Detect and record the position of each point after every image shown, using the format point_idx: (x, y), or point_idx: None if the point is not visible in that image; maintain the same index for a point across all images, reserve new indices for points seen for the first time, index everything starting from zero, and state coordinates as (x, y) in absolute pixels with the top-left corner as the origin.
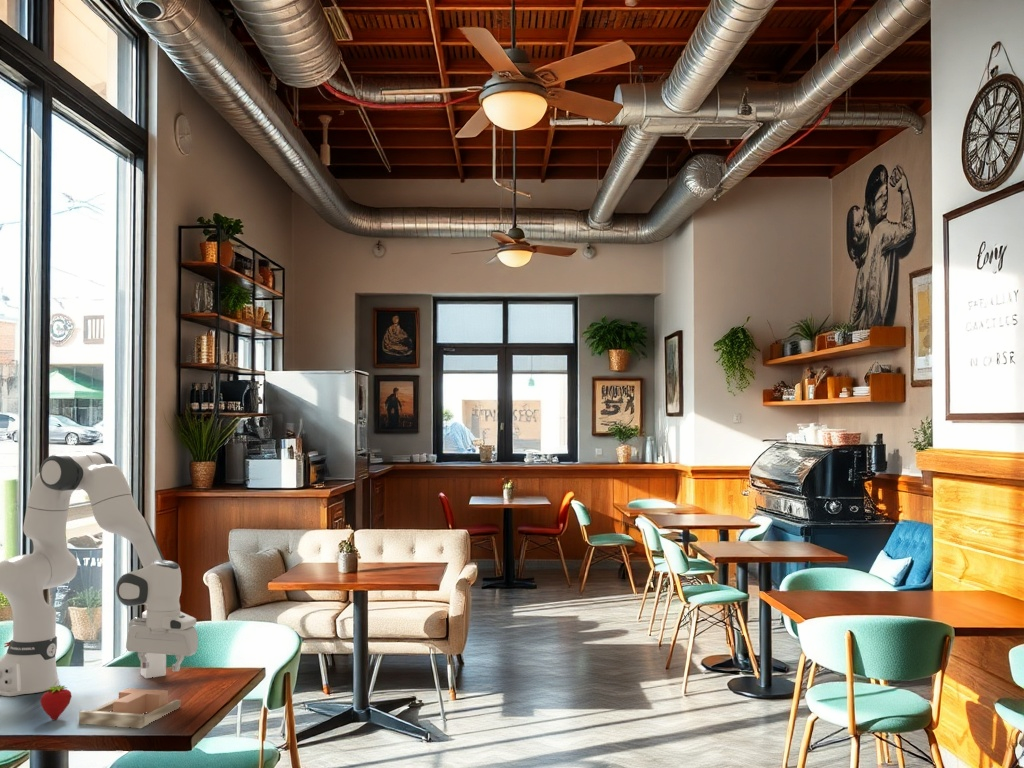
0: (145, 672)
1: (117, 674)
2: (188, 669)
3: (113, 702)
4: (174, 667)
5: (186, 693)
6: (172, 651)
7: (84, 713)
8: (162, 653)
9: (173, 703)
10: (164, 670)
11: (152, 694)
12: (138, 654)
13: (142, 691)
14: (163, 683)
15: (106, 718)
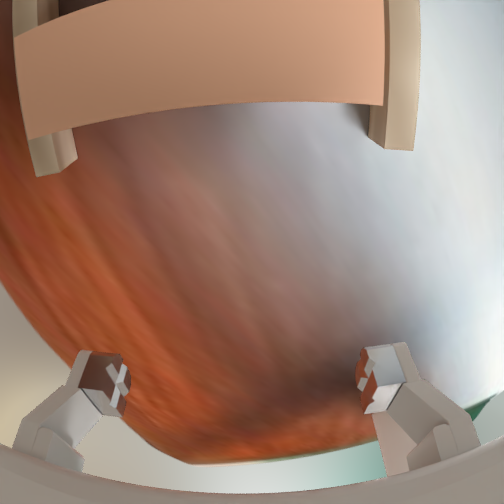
0: None
1: (479, 378)
2: (335, 443)
3: (395, 23)
4: (86, 372)
5: (192, 332)
6: (38, 493)
7: None
8: (161, 496)
9: (21, 110)
10: (377, 424)
11: (61, 17)
12: (469, 428)
13: (190, 39)
14: (349, 382)
15: None
